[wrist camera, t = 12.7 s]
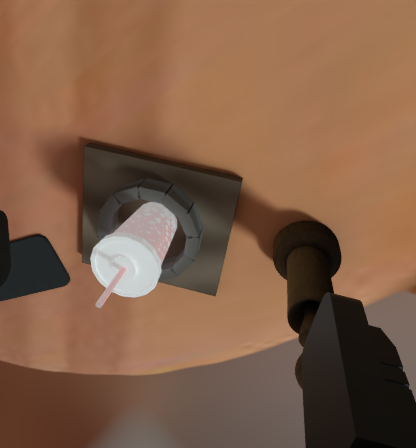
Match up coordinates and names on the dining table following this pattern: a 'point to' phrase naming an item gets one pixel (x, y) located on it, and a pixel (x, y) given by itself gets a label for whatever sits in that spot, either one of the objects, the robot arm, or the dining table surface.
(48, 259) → the phone
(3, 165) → the dining table surface
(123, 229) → the beverage cup
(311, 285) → the pepper mill
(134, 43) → the dining table surface
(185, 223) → the ring holder
